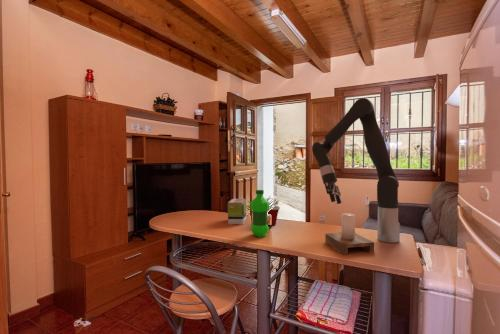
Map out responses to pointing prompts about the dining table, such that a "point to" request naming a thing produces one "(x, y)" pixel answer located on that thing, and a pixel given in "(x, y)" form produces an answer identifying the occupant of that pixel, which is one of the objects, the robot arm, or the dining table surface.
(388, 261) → the dining table surface
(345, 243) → the shelf
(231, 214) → the tea box
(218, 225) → the dining table surface
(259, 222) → the plastic bottle
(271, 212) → the plastic cup
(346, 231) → the beige upright block
